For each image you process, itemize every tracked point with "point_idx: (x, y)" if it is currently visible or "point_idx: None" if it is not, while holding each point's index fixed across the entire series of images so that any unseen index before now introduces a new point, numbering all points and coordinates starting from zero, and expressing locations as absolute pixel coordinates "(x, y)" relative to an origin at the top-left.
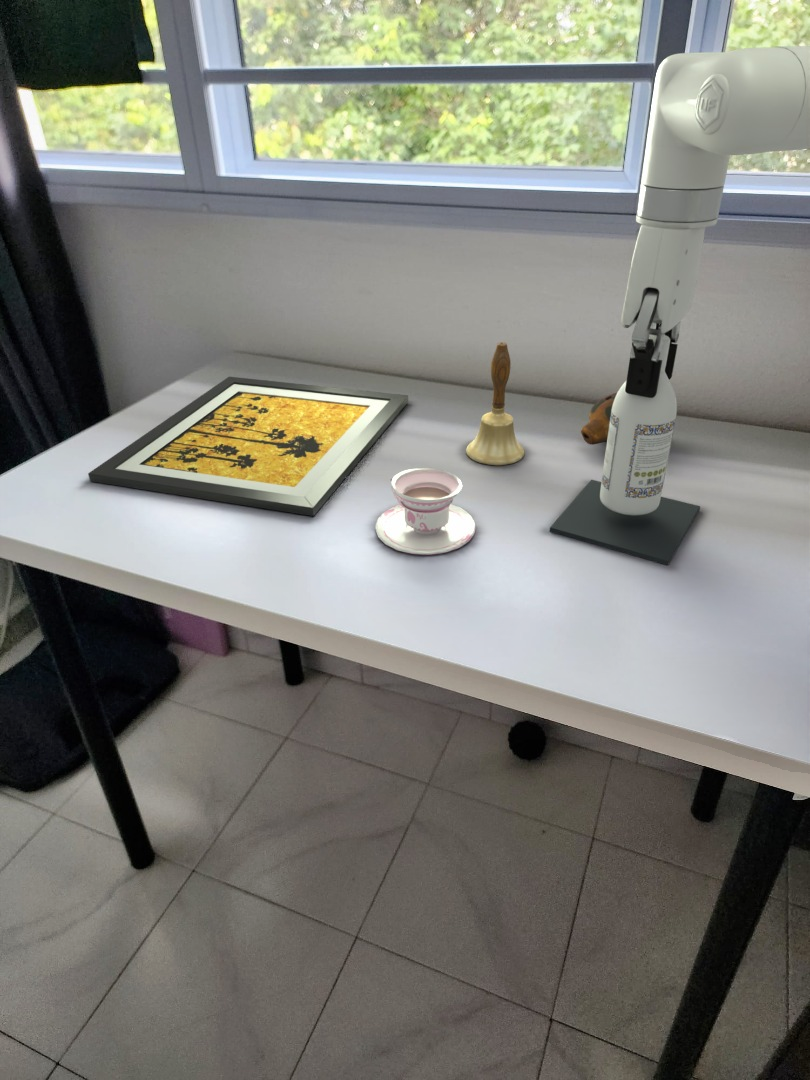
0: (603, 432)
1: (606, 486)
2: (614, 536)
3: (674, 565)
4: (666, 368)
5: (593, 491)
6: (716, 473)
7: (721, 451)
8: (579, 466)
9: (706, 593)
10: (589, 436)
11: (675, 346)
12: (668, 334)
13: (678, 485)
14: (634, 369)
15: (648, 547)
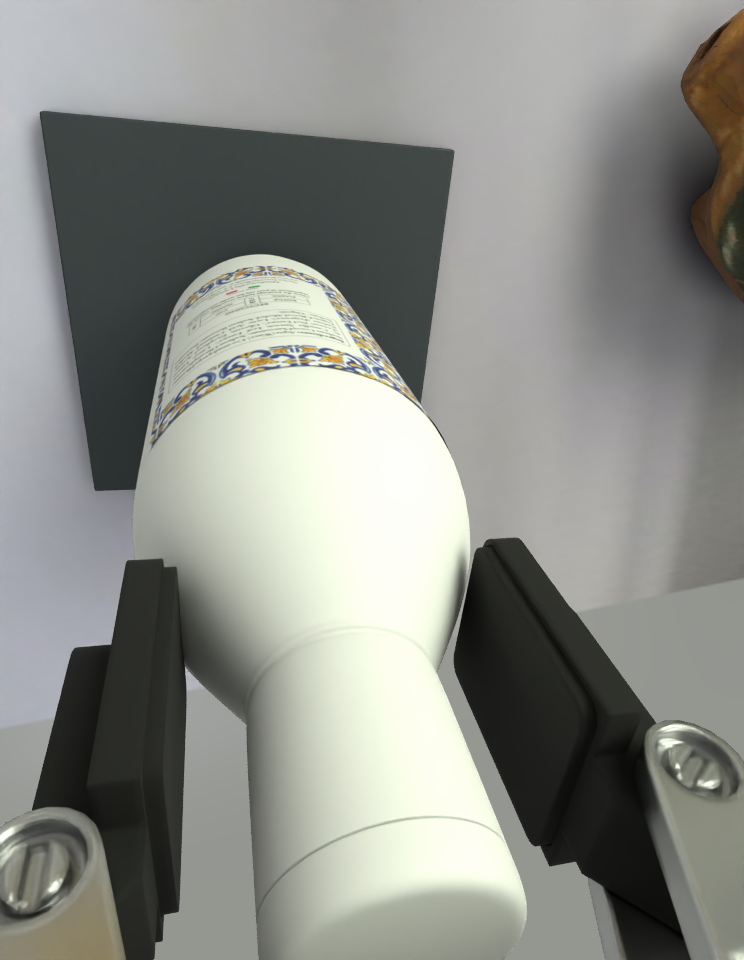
0: (721, 121)
1: (181, 307)
2: (123, 336)
3: (108, 495)
4: (478, 701)
5: (370, 185)
6: (613, 459)
7: (736, 440)
8: (563, 64)
9: (38, 577)
10: (699, 65)
11: (547, 855)
12: (632, 884)
13: (522, 397)
14: (49, 758)
15: (127, 432)
